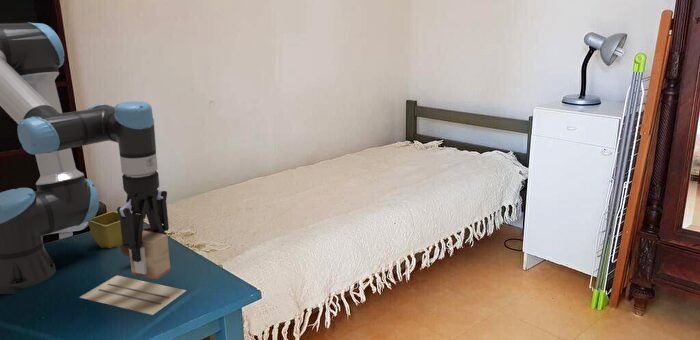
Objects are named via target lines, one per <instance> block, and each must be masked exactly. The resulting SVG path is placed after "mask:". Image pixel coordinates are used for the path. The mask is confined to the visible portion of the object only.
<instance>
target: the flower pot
mask: <svg viewBox="0 0 700 340" xmlns="http://www.w3.org/2000/svg"><path fill="white" fill-rule="evenodd" d="M87 223H88V226H89V229H90V230H89V231H90V233H91V236H92V238H93V241H95V243H96V244H97V245H98V246H99V247H100V248H107V249H113V248H114V247H115V248H116V247H117V248H121V244H122V233H121V224H120V216H119V214H118V212H117V211H115V210H113V211H112V210H111V211H108V212H106V213H103V214H100V215H98V216H95V217H94V218H93V219H92V220H90V221H88V222H87Z"/></svg>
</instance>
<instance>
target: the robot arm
mask: <svg viewBox="0 0 700 340" xmlns="http://www.w3.org/2000/svg"><path fill="white" fill-rule="evenodd" d="M64 62H65V50H64V47H63V43H62V41H61V39H60V37H59V35H58V34H57V33H56V32H55V30H54V29H53V28H52V27H51V26H49V25H47V24H45V23H40V22H39V23H38V22H36V23H35V22H29V21H28V22H18V23H17V22H10V23H9V22H7V23H6V22H5V23H0V107H1V108H2V109H3V110H4V111H5V113H7V114H8V115H9V117H10V118H11V119H12V120H13V121H14V122H16V124H17V137H18V140H19V142H20V144H21V147H22V149H23V150H24V151H25V152H26V153H27V154H29V155H34V156H35V159H36V160H35V161H36V163H37V168H38V171H39V175H40V176H39V178H38V179H37V181H36V183H35V187H36V189H37V190H36V191H34V190H33V189H32V188H29V187H18V188H12V189H9V190H5V191H1V192H0V295H12V294H15V293H17V292H19V291H21V290H23V289H26V288H30V287H34V286H37V285H38V284H41V283H43V282H45V281H47V280H49V279H50V278H51V277H53V275H54V274H55V273H56V272H57V270H56V269H57V268H56V265H55V262H54V261H53V260H52V258H51V256H50V255H49V253H48V252H47V250H46V248H45V245H44V240H43V239H44V238H43V237H44V236H48V235H51V234H53V233H56V232H57V233H58V232H60V231H62V230H65V229H69V228H72V227H75V226H76V227H78V226H81V225H82V224H85V223H88V221H90V220H92V219H93V218H94V217H96V215H97V213H98V211H99V207H100V199H99V198H100V197H99V193H98V190H97V187H96V186H95V183H94V182H93V181H92V180H90V179H89V178H85V174H84V173H83V172H81V171H80V170H78V169H77V167H76V162H75V160H74V155H73V150H72V149H73V148H77V147H84V146H87V145H89V146H90V145H92V144H93V145H94V144H98V143H103V142H110V141H111V142H113V143H116V144H117V143H118V152H119V161H120V170H121V174H122V176H121V177H122V178H121V179H122V187H123V190H124V192H125V193H126V199H125V200H126V203H125V204H124V205H122V206H118V207H117V209H116V212H118V214H119V216H120V224H121V233H122V243H123V248H127V249H128V250H129V249H131V252H132V260H133V261H134V264H135V272H137V273H141V274H146V273H147V267H146V258H145V248H144V247H142V246H141V245H142V233H143V229H144V222H145V221H144V220H145V219H146V218H147V222H148V224H149V227H150V228H151V231H152V232H154V233H160V234H165V235H167V236H168V234H167V231H169V228H170V226H169V217H168V216H169V215H168V207H167V206H168V205H167V197H168V191H166V190H161V189H159V188H160V177H159V172H158V171H157V170H158V161H157V160H158V159H157V145H156V144H157V143H156V132H155V119H154V114H153V109H152V105H150V103H148V102H147V101H146V102H145V101H136V100H134V101H133V100H132V101H123V102H119V103H117V104H116V105H115V106H113V105H109V104H94V105H91V106H90V107H88V108H87V109H82V110H73V111H70V112H63V109H62V106H61V102H60V101H61V100H60V97H59V93H58V89H57V85H56V82H55V81H56V79H57V77H58V76H59V74H60V72H59V68H61V67H62V66H63V65H64ZM135 242H136V243H135Z"/></svg>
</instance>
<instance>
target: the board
mask: <svg viewBox="0 0 700 340" xmlns="http://www.w3.org/2000/svg"><path fill="white" fill-rule="evenodd" d="M186 291H187V290H186V289H182V288H177V287H172V286H167V285H163V284H159V283H155V282H149V281H145V280H144V281H143V280H139V279H135V278H130V277H126V276H121V275H115V276H113V277H111V278H109V279H107V280H106V281H105V282H103V283H100V284H99V285H97V286H96V287H94V288H92V289H91V290H89V291H87V292H86V293H84V294H82V295H80V296H79V298H80V299H84V300H88V301H92V302H97V303H100V304H101V303H102V304H107V305H110V306H114V307H118V308H121V309H126V310H131V311H134V312H138V313H142V314H146V315H147V314H148V315H151V316H154V315H155V314H156V313H158V312H159V311H161V310H162V309H163V308H165V307H166V306H168V305H169V304H171V302H173V301H174V300H176V299H177V298H179V297H180V296H181V295H183V294H184V293H186Z"/></svg>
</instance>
